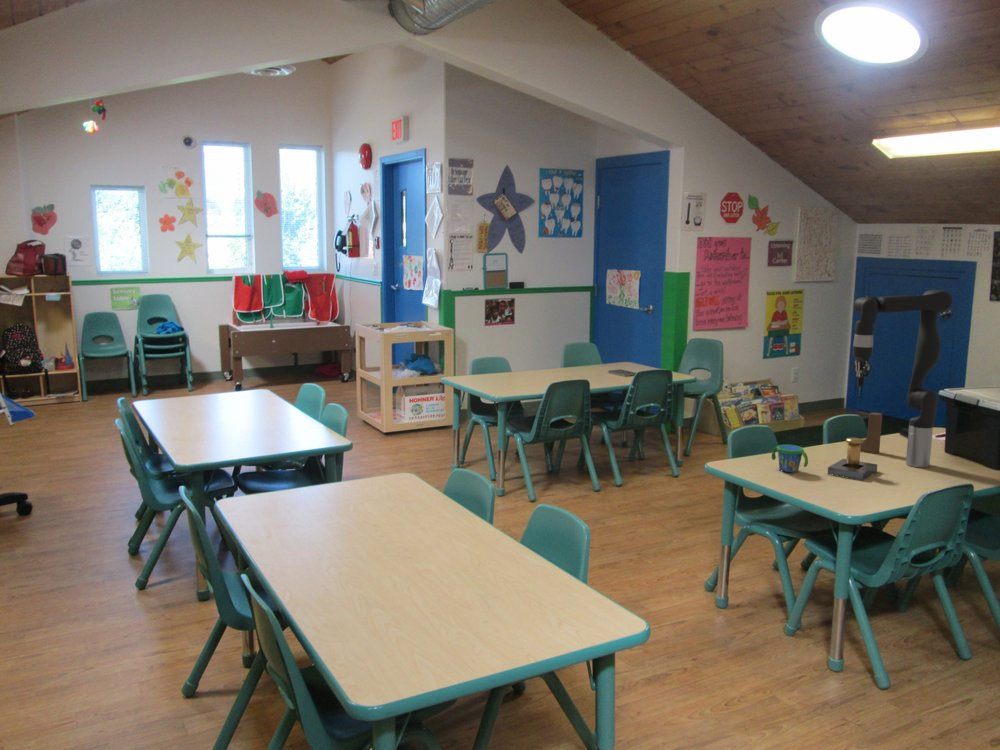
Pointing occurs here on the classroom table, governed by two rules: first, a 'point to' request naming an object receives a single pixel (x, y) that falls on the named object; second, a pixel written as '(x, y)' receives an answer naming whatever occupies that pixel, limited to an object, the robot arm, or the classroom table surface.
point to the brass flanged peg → (853, 452)
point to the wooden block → (873, 434)
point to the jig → (852, 470)
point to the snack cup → (789, 457)
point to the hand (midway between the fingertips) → (860, 386)
